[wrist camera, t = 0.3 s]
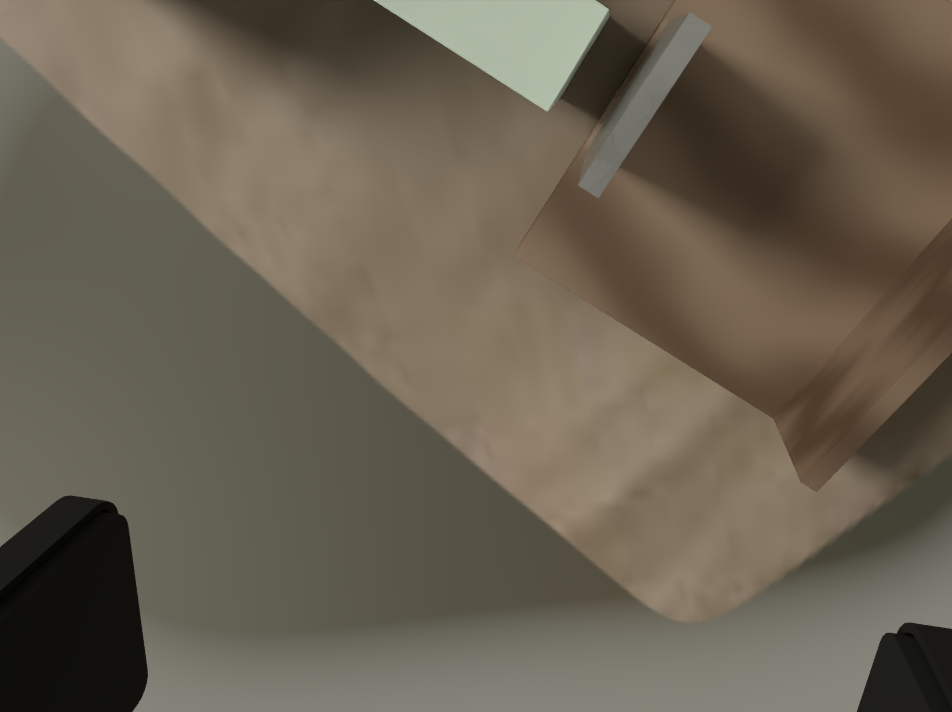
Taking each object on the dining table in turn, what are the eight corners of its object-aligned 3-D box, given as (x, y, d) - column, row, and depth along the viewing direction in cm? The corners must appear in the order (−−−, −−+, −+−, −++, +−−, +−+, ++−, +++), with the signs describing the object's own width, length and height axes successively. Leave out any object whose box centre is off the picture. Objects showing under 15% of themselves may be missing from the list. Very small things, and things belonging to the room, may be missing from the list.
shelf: (750, -121, 31) (821, -206, 20) (1071, 95, 32) (1296, 119, 21) (517, 248, 38) (480, 325, 28) (784, 415, 39) (847, 551, 29)
